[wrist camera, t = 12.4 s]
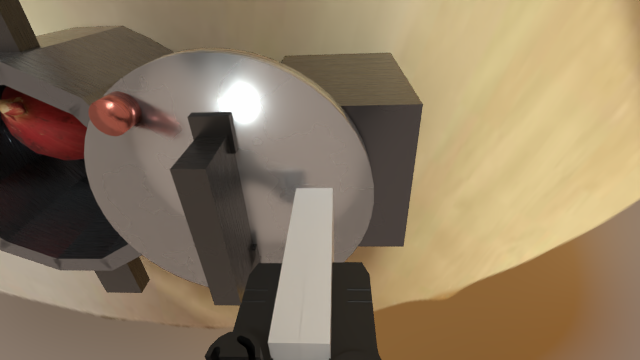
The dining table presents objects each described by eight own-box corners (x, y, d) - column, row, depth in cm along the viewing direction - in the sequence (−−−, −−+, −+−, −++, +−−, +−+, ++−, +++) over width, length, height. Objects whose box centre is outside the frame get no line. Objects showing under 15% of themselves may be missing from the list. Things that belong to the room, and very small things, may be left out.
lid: (42, 52, 13) (-59, 82, 9) (380, 42, 12) (397, 69, 9) (149, 279, 20) (112, 341, 17) (366, 281, 19) (372, 346, 16)
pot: (-27, -45, 20) (-279, -54, 12) (175, -55, 19) (55, -72, 11) (106, 221, 31) (25, 310, 23) (237, 220, 30) (200, 313, 22)
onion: (120, 169, 25) (19, 193, 17) (56, 118, 24) (-78, 117, 16) (165, 109, 24) (80, 103, 16) (99, 54, 23) (-22, 20, 15)
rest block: (285, 55, 22) (254, 107, 14) (390, 52, 22) (422, 104, 14) (294, 160, 26) (275, 245, 18) (382, 159, 26) (403, 246, 18)
